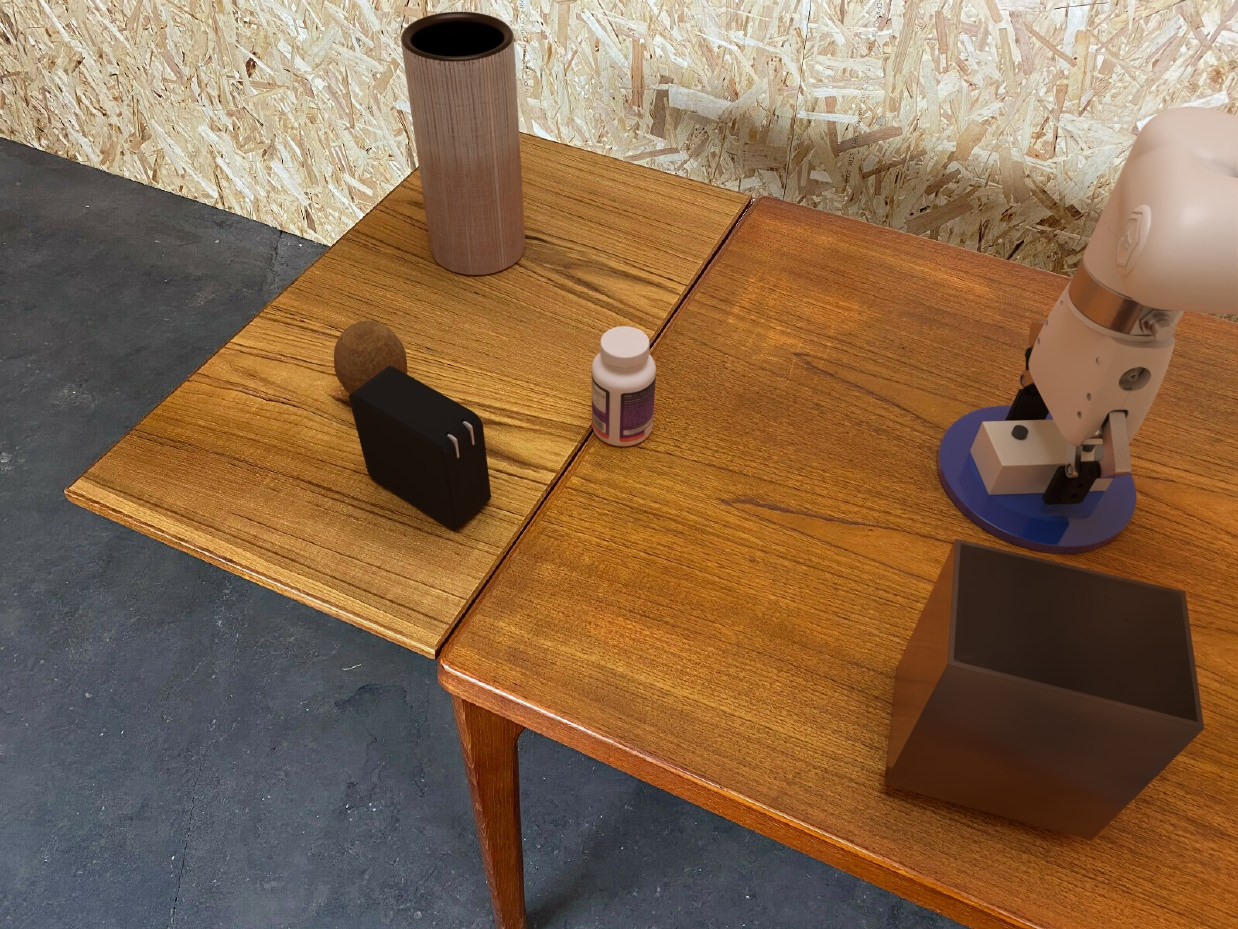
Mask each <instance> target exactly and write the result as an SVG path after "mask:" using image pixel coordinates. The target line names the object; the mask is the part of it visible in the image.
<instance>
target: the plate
mask: <svg viewBox="0 0 1238 929" xmlns="http://www.w3.org/2000/svg"><path fill="white" fill-rule="evenodd" d="M1011 406H1012V404H1011V405H1010V404H1009V405H995V406H987V407H983V408H979V409H976V410H973V411H970V412H968V413H966V414H964V415H963V416H961V417H959V418H958V419H957V420H956V421H954V422H953V423H952V424H951V425H950V426H949V427H948V428H947V430H946V432H945V433H944V434H943V436H942V439H941V441H940V444H939V447H938V450H937V455H936V468H937V473H938V478H939V480H940V482H941V486H942V487H943V489H944V491H945V493H946V495H947V497H949V499H950V500H951V502H952V503H953V504H954V505H955V507H956V508H957V509H958V510H959V512H961V513H962V514H963V515H964V516H966V518H967V519H969V520H970V521H971V522H972V523H974V524H975V525H976V526H977V527H979V528H981V529H982V530H983V531H985V532H987V533H988V534H990V535H992V536H994V537H995V538H998V539H1000V540H1002V541H1004V542H1006V543H1009V544H1012V545H1015V546H1017V547H1020V548H1023V549H1028V550H1031V551H1036V552H1041V553H1047V554H1058V555H1064V554H1066V555H1069V554H1079V553H1086V552H1089V551H1094V550H1096V549H1099V548H1101V547H1103V546H1106V545H1108V544H1109V543H1111V542H1113V541H1114V540H1116V539H1117V538H1118V537H1119V536H1120V535H1121V534H1122V533H1123V532H1124V530H1125V529H1126V528H1127V526H1128V524H1129V523H1130V521H1131V520H1132V518H1133V516H1134V515H1135V514H1134V513H1135V511H1136V505H1137V490H1136V489H1137V488H1136V483H1135V481H1134V478H1133V476H1132V473H1131V472H1130V474H1127V475H1123V476H1119V477H1115V478H1113V480H1112V482H1111V483H1110V485H1109V487H1108V488H1107V490H1106V491H1089V492H1088V494H1087V496H1086V497H1085V499H1084V501H1083V502H1081V503H1079V504H1070V505H1066V504H1057V505H1046V504H1045V503H1044V501H1043V499H1042V497H1043V494H1044V493H1028V494H999V495H989V494H988V492H987V489H986V487H985V485H984V483H983V480H982V478H981V476H980V473H979V471H978V469H977V466H976V464H975V462H974V459H973V457H972V455H971V452H970V450H971V448H972V445H973V443H974V441H975V438H976V436H977V433H978V431H979V429H980V426H981V424H982V422H990V421H1005V419H1006V417H1007V415H1008V413H1009V410H1010V408H1011ZM1045 420H1054V419H1053V417H1052V415H1051V414H1050V412H1049V413H1048V415H1047V417H1046V419H1045Z"/></svg>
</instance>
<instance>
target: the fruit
mask: <svg viewBox="0 0 1238 929" xmlns="http://www.w3.org/2000/svg"><path fill="white" fill-rule="evenodd" d="M407 359H408V358H407V352H406V349H405V345H403V343H402V341H401V339H400V338H399V337H398V335H396V333H395V332H394V331H393V330H392V329H391V328H390V327H388V326H387V325H384V324H382V323H380V322H378V321H373V320H363V321H358V322H355V323H352V324H350V325H349V326H348V327H346V328H345V329H344V330H343V331H342V332H341V333H340V336H339V337H338V338H337V340H336V342H335V345H334V348H333V367H334V368H333V369H334V373H335V375H336V376H335V377H336V378H337V380H338V382H339V383H340V385H341V386H342V387H343V389H344V390H345V391H346V392H347V394H349V395H350V394H351V393H352V392H354V391H355V390H356V389H358V388H359V387H360V386H362V385H363V384H365V383H366V382H367V381H369V380H370V379H371V378H373V377H374V376H375V375H377V374H378V373H380V372H381V371H382V370H384V369H385V368H386V367H388V366H393V367H395V368H397V369H398V370H400V371H402V372H404V373H406V374H407V375H408V360H407Z"/></svg>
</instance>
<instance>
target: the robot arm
mask: <svg viewBox="0 0 1238 929" xmlns="http://www.w3.org/2000/svg"><path fill="white" fill-rule="evenodd" d="M1091 234H1092V235H1091V236H1090V239H1089V241H1088V242H1087V245H1086V247H1085V250H1084V252H1083V254H1082V256H1081V257H1080V261H1079V262H1078V265H1077V267H1076V269H1075V271H1074V274H1073V276H1072V278H1071V280H1070V281H1069V282H1068V284H1067V285H1066V287H1065V288H1064V289H1063V291H1062V293H1061V294H1060V295H1059V297H1058V299H1057V300H1056V302H1055V303H1054V305H1053V307H1052V308H1051V310H1050V312H1049V314H1048V316H1047V318H1046V319H1045V321H1043V320H1042V321H1041V320H1039V321H1032V322H1031V323H1030V325H1029V326H1030V327H1029V336H1028V345H1029V346H1030V347H1027V348H1026V350H1025V352H1024V357H1025V371H1023V372H1022V373H1020V375H1019V382H1018V383H1019V386H1020V387H1021V388H1019V389H1018V391H1017V393H1016V395H1015V398H1014V399H1013V402H1012V404H1011V405H1012V406H1011V408H1010V410H1009V413H1008V415H1007V417H1006V419H1005V421H1023V420H1045V419H1046V417H1047V415H1048V413H1049V412H1050V414H1051V415H1052V417H1053V419H1054V421H1055V423H1056V425H1057V426H1058V428H1059V430H1060V432H1061V433H1062V435H1063V436H1064V437H1065V438H1066V439H1067V441H1068V445H1067V455H1066V465H1065V466H1059V467H1058V468H1057V470H1056V472H1055V474H1054V476H1053V477H1052V479H1051V481H1050V483H1049V485H1048V487H1047V489H1046V491H1045V492H1044V494H1043V497H1042V499H1043V501H1044V503H1045V504H1046V505H1057V504H1066V505H1070V504H1079V503H1081V502H1083V501H1084V499H1085V497H1086V496H1087V494H1088V492H1089V490H1090V489H1091V487H1092V485H1093V484H1094V482H1095V480H1096V479H1110V478H1115V477H1119V476H1123V475H1127V474H1130V473H1131V472H1132V470H1133V468H1132V458H1131V451H1130V443H1131V442H1133V439H1134V438H1135V436H1137V434H1138V432H1139V430H1140V428H1141V427H1142V425H1143V423H1144V421H1145V419H1146V417H1147V415H1148V413H1149V412H1150V410H1151V407H1152V405H1153V403H1154V401H1155V399H1156V397H1157V396H1158V392H1159V391H1160V388H1161V386H1162V384H1163V381H1164V378H1165V376H1166V374H1167V371H1168V368H1169V365H1170V362H1171V359H1172V356H1173V352H1174V347H1175V344H1176V339H1175V337H1174V335H1175V334H1176V332H1177V329H1176V328H1177V326H1178V324H1179V323H1180V321H1181V319H1182V318H1183V316H1184V314H1185V312H1186V313H1197V314H1198V313H1199V314H1210V315H1212V314H1213V315H1222V316H1223V315H1232V316H1234V315H1235V316H1238V116H1237V115H1235V114H1232V113H1230V112H1226V111H1223V110H1218V109H1214V108H1208V107H1203V106H1178V107H1173V108H1169V109H1166V110H1163V111H1160V112H1159V113H1158V114H1156V115H1153V117H1151V118H1150V119H1148V121H1146V123H1145V124H1144V125H1143V126H1142V128H1141V129H1140V131H1139V132H1138V134H1137V136H1136V138H1135V140H1134V142H1133V144H1132V146H1131V148H1130V151H1129V152H1128V155H1127V158H1126V159H1125V162H1124V164H1123V166H1122V169H1121V171H1120V173H1119V175H1118V177H1117V179H1116V181H1115V184H1114V186H1113V188H1112V190H1111V193H1110V194H1109V197H1108V199H1107V202H1106V204H1105V206H1104V208H1103V210H1102V212H1101V214H1100V216H1099V219H1098V221H1097V223H1096V225H1095V228H1094V230H1093V232H1092V233H1091ZM1098 430H1099V433H1098V434H1095V433H1096V432H1097V431H1098ZM1083 445H1095V452H1094V461H1081V456H1082V446H1083Z"/></svg>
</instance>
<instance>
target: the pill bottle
mask: <svg viewBox="0 0 1238 929" xmlns="http://www.w3.org/2000/svg"><path fill="white" fill-rule="evenodd" d="M599 345H600V346H599V352H598V353H597V354H596V355H595V357H594V358H593V361H592V364H591V373H590V374H591V426H592V430H593V432H594V434H595V435H596V437H597V438H598V439H600V440H601V441H602V442H604V443H606V444H609V445H611V446H614V447H615V446H616V447H631V446H635V445H637V444H639V443H642V442H643V441H645V440H646V439H647V438H648V437H649V436H650V434H651V433H652V430H653V427H654V416H655V414H654V413H655V396H656V395H655V394H656V382H657V380H656V379H657V366H656V362H655V360H654V358H653V356H652V355H651V353H650V339H649V336H648V335H647V334H646V333H645V332H644V331H643V330H642V329H639V328H637V327H633V326H629V325H623V326H622V325H621V326H615V327H612V328H610V329H607V330H606V331H605V332H603V334H602V335H601V338H600V344H599Z"/></svg>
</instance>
